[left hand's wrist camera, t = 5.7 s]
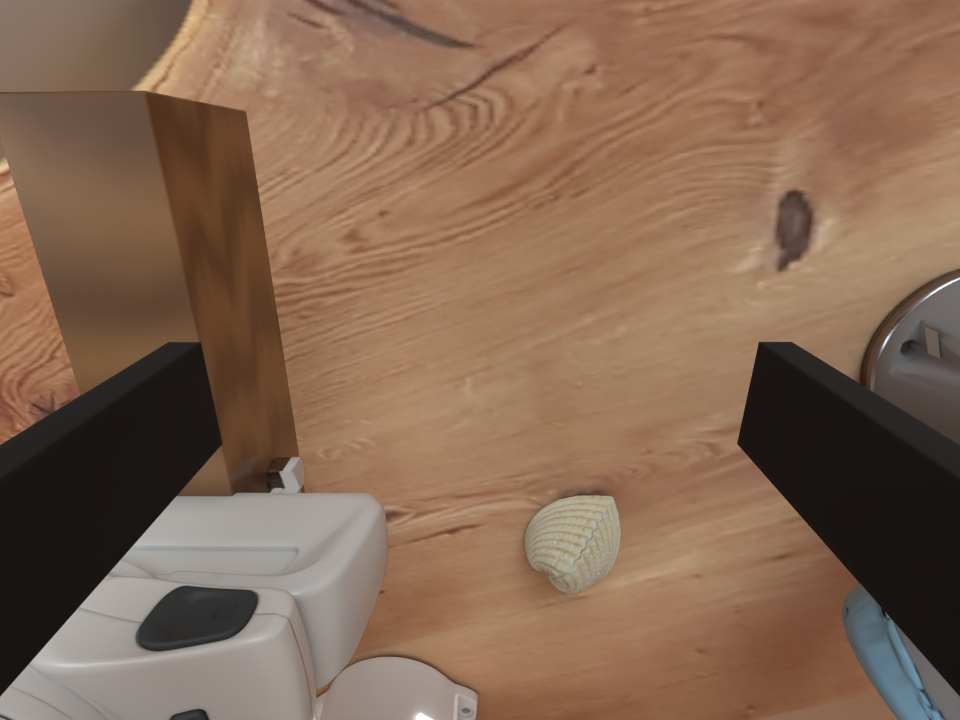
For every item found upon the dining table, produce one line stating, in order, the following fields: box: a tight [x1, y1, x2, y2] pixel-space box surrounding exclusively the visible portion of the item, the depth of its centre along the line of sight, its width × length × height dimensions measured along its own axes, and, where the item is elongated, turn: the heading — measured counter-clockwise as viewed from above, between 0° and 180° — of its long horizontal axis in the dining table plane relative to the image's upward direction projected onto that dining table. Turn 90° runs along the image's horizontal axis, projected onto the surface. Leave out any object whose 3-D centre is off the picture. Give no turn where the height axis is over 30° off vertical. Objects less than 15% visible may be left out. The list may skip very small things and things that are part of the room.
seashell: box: [524, 495, 621, 594], centre depth 46 cm, size 8×8×8 cm
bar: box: [0, 91, 305, 496], centre depth 26 cm, size 23×6×8 cm, turn 0°
